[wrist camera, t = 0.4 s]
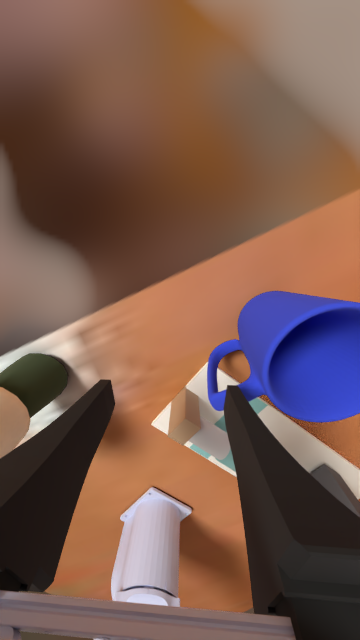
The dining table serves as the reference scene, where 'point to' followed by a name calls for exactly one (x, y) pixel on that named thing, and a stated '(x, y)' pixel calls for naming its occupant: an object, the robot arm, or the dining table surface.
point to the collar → (337, 487)
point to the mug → (297, 355)
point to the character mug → (26, 395)
